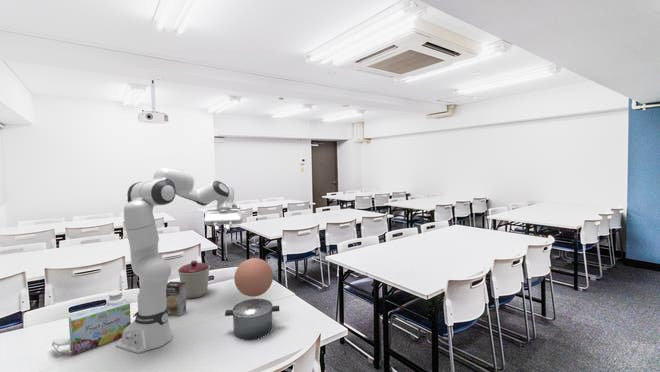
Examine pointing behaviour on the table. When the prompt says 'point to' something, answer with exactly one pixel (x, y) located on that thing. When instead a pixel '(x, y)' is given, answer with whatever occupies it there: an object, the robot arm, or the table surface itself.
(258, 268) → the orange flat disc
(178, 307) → the coffee box
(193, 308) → the table surface
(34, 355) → the table surface
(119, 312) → the snack box
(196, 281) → the canister
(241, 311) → the cooker pot
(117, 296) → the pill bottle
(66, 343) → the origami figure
